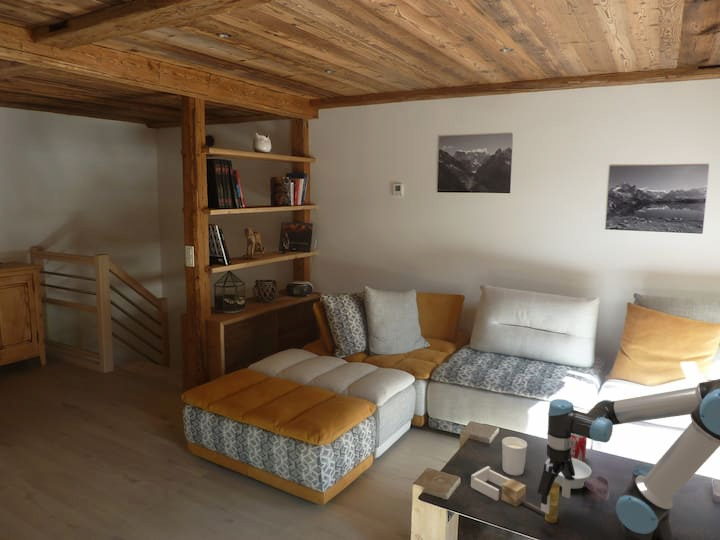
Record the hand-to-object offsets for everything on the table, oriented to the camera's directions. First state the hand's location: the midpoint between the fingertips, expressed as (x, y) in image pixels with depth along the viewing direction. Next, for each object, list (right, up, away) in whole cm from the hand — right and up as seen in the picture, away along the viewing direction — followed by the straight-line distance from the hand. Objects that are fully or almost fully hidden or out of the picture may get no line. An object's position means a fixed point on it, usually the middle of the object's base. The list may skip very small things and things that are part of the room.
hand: (555, 504), depth 185 cm
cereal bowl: (+13, -3, +25) cm, 28 cm away
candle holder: (-5, -1, +34) cm, 34 cm away
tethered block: (-6, -5, +8) cm, 11 cm away
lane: (-17, -3, +20) cm, 26 cm away
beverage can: (+24, 0, +42) cm, 48 cm away
